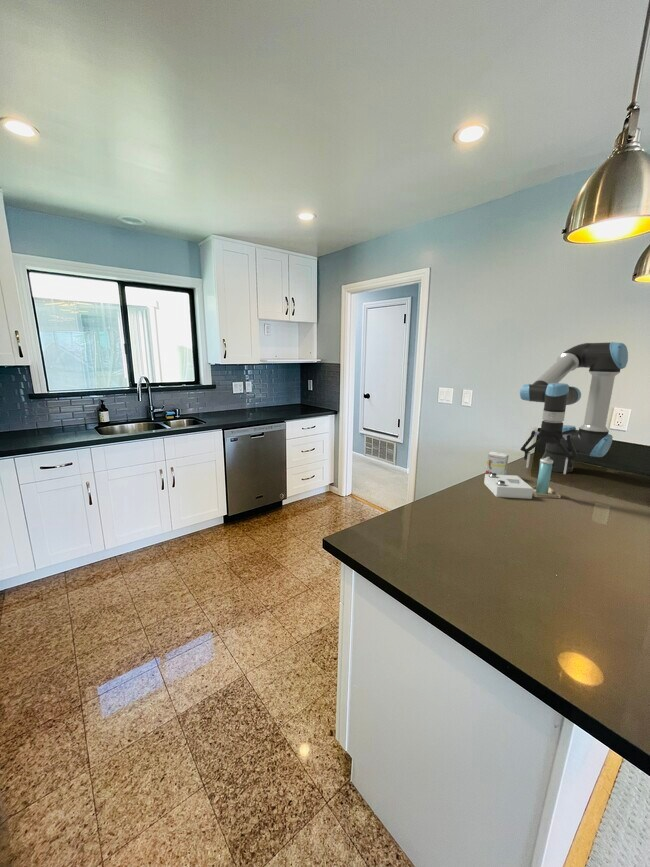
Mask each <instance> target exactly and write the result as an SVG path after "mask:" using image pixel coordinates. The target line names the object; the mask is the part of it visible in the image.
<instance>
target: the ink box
mask: <svg viewBox="0 0 650 867" xmlns="http://www.w3.org/2000/svg"><path fill="white" fill-rule="evenodd" d="M486 459H487V460H486V467H485V474H490V473H496V474H497V475H507V471H508V470H507V469H508V462H509V454H508V453H502V452H496V451H490V452H488V453H487V458H486Z"/></svg>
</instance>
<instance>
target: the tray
mask: <svg viewBox="0 0 650 867" xmlns="http://www.w3.org/2000/svg"><path fill="white" fill-rule="evenodd" d="M530 486H531V487H532V488H533V494H532V497H534V498H542V499H543V498H545V499H547V498H548V499H561V494H559V493H558V492H557V491H555V490H554V489H552V488H551V487H550V486H549V489H548V494H537V493H536V487H537V485H536V486H535V485H530Z"/></svg>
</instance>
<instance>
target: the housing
mask: <svg viewBox="0 0 650 867" xmlns="http://www.w3.org/2000/svg"><path fill="white" fill-rule="evenodd" d="M499 480H502V481H505V486H498V481H499ZM483 481H484V482H483V484H484V485H485V486H486V487H487V488H488V490H490V491H491V493H492V494H493V495H494V496H495V497H496V498H511V499H512V498H513V499H529V500H531V499H533V495H532V494H533V488H532V487H531V486H532V485H530V484H528V483H527V482H526V481H525V480H523V479H522V478H521V477H520V476H519V475H513V474H511V475H510V474H509V475H508V474H506V475H496V478H490V474H486V473H484V480H483Z"/></svg>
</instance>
